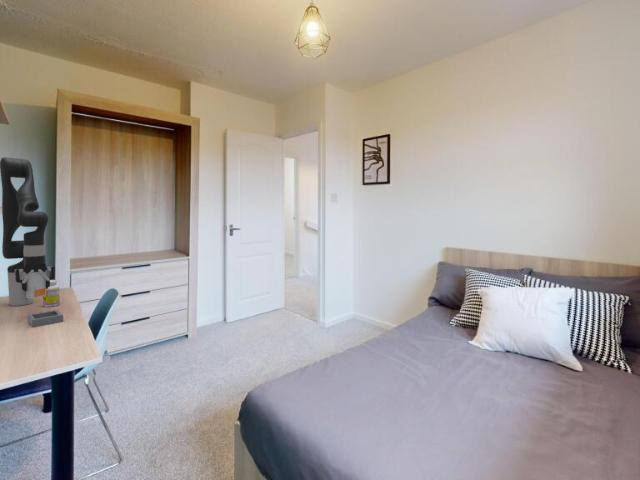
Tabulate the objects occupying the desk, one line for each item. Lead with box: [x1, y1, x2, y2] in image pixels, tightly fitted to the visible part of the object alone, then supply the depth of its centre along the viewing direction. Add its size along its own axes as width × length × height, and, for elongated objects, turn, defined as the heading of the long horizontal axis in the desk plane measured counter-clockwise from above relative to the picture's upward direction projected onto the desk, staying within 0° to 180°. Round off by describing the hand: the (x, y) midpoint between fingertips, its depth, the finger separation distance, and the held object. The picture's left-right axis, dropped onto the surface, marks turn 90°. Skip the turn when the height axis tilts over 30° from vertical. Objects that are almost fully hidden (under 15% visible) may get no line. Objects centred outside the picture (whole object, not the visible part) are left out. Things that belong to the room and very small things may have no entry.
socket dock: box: [27, 309, 64, 328], centre depth 143 cm, size 10×10×3 cm
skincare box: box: [25, 270, 47, 299], centre depth 150 cm, size 6×4×12 cm
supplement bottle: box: [42, 279, 61, 308], centre depth 167 cm, size 7×7×13 cm
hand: (36, 289), depth 150 cm, fingers closed on skincare box, 7 cm apart
